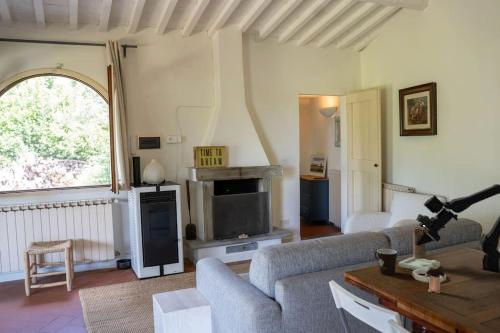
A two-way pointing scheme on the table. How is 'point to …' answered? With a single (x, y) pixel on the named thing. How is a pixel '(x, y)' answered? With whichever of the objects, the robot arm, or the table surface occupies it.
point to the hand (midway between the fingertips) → (416, 243)
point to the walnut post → (419, 250)
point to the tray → (416, 264)
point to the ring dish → (422, 278)
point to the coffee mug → (386, 261)
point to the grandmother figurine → (434, 277)
